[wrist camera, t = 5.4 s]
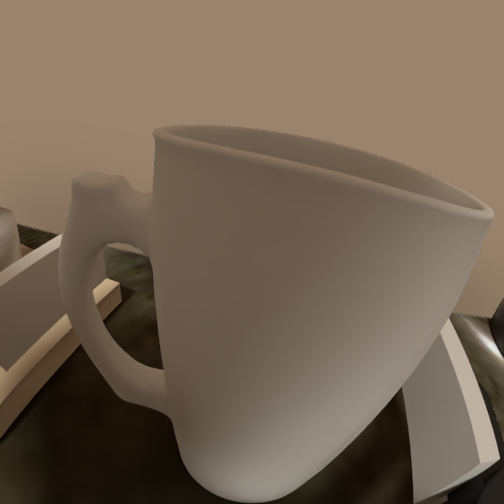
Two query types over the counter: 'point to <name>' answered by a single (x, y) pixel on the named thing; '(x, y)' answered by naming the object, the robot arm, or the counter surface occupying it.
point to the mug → (272, 293)
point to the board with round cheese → (49, 345)
